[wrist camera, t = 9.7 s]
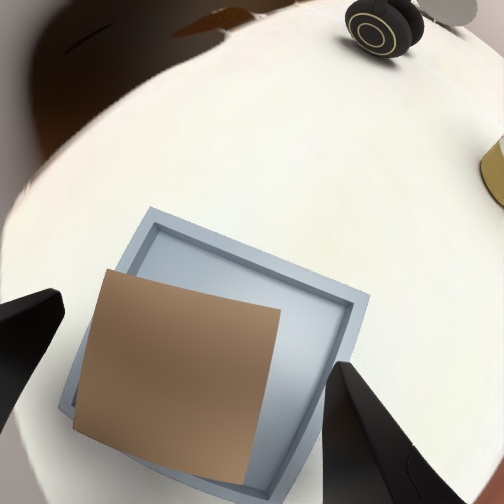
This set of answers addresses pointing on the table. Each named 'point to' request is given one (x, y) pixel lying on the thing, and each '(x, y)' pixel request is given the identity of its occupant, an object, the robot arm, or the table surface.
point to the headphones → (385, 26)
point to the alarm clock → (450, 11)
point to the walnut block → (175, 375)
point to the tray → (285, 350)
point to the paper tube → (495, 170)
